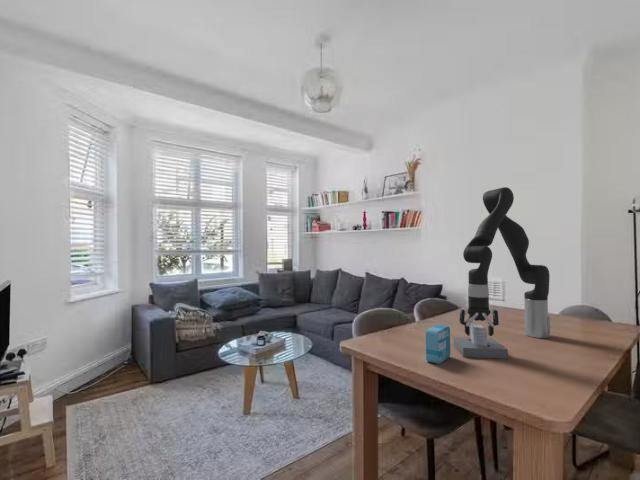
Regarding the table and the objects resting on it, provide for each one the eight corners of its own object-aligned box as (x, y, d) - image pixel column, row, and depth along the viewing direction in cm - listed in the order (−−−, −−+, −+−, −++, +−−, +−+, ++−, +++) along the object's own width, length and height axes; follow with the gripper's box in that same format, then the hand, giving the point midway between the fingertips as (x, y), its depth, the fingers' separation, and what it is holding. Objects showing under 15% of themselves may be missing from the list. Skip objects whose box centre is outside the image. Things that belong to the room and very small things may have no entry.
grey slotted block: (493, 346, 141) (493, 338, 141) (507, 358, 126) (507, 349, 126) (453, 345, 143) (453, 337, 143) (463, 356, 129) (463, 347, 129)
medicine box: (487, 351, 131) (487, 329, 131) (475, 351, 131) (475, 329, 131) (481, 345, 138) (481, 324, 138) (470, 345, 139) (470, 324, 139)
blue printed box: (437, 365, 120) (437, 331, 120) (425, 362, 123) (425, 329, 123) (450, 356, 129) (450, 325, 129) (439, 354, 132) (438, 323, 132)
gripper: (493, 293, 138) (494, 333, 138) (457, 293, 140) (458, 332, 140) (500, 296, 130) (501, 338, 130) (462, 296, 132) (463, 337, 132)
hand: (479, 335), depth 135 cm, fingers open, 8 cm apart
